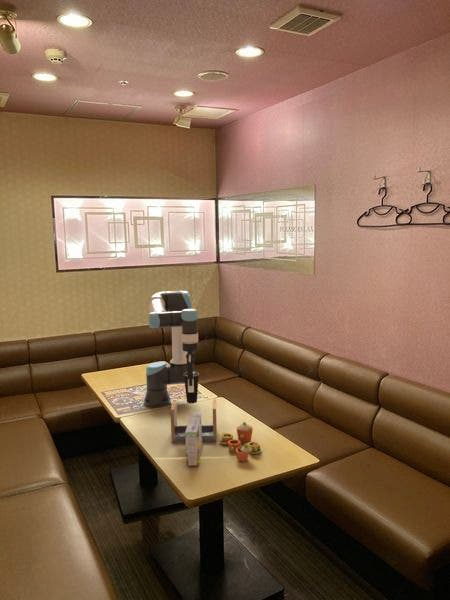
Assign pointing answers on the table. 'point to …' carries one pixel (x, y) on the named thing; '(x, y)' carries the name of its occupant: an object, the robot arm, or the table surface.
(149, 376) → the robot arm
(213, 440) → the two-post stand
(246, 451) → the toy tea set
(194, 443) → the snack box
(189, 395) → the drinking cup
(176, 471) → the table surface
